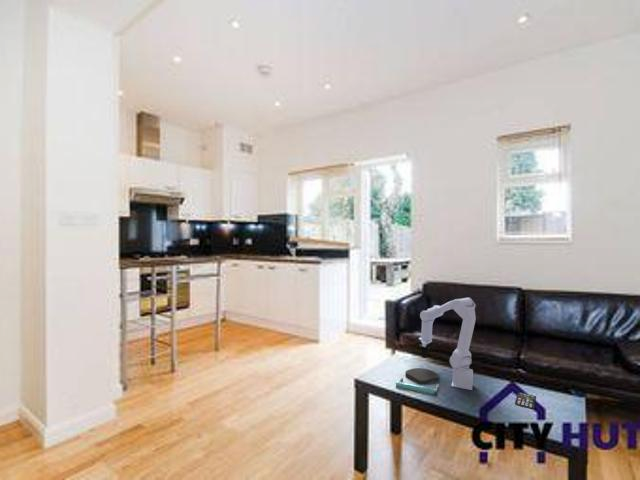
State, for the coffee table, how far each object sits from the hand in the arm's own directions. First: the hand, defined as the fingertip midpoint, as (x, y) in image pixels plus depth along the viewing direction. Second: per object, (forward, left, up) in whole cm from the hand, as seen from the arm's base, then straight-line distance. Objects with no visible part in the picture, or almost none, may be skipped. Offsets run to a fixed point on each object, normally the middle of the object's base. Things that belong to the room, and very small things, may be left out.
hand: (425, 355), depth 194 cm
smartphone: (-47, +17, -9) cm, 51 cm away
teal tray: (0, +25, -8) cm, 26 cm away
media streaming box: (0, +12, -9) cm, 15 cm away
